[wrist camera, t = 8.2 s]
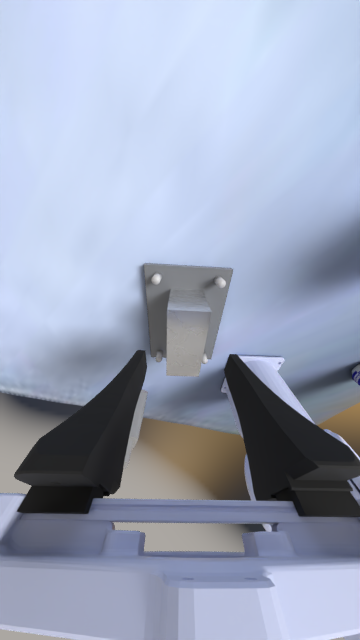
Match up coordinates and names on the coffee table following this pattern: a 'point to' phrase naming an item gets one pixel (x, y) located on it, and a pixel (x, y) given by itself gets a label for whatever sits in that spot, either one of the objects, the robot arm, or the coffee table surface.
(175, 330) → the white block
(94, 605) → the robot arm
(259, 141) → the coffee table surface
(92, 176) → the coffee table surface
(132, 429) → the power adapter
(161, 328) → the grey plate with pegs
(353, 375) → the beverage can
